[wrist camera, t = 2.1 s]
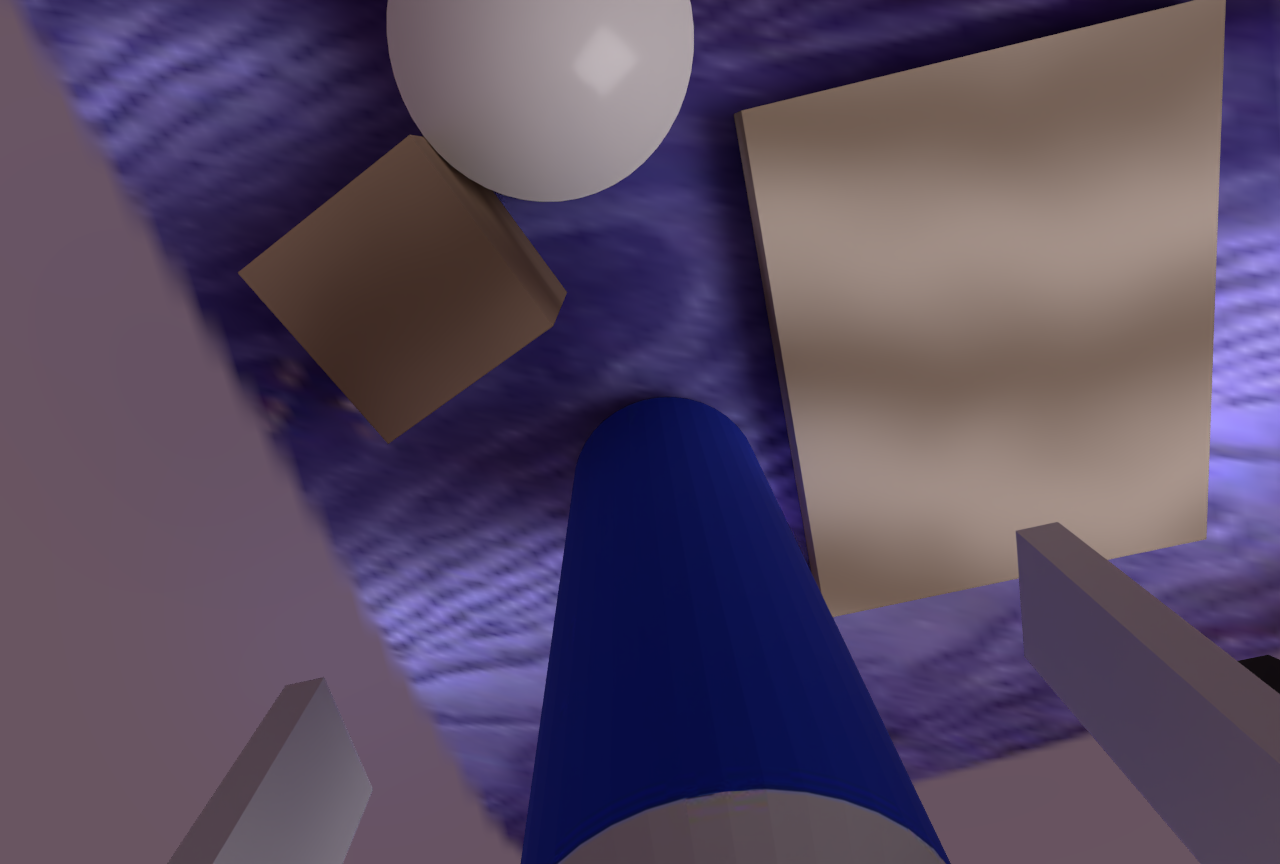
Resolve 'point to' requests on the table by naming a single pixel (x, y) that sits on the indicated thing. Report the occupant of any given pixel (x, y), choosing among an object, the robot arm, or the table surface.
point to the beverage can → (703, 673)
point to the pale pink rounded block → (542, 87)
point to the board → (995, 301)
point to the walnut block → (407, 286)
